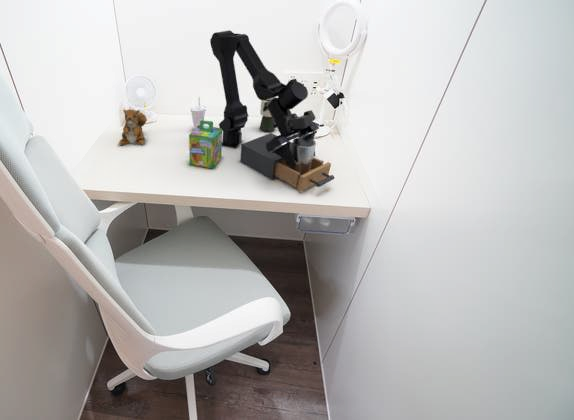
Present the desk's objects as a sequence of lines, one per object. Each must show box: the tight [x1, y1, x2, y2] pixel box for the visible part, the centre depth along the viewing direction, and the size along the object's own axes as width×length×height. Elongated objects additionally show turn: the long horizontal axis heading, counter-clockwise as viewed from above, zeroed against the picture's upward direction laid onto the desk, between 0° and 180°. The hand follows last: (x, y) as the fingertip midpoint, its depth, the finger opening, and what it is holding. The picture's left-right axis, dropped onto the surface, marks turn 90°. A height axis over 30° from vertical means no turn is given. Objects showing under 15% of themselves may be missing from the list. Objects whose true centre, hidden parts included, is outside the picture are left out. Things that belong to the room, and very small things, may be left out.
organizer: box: [239, 132, 293, 180], centre depth 111 cm, size 15×14×7 cm
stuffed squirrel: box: [118, 108, 148, 146], centre depth 129 cm, size 10×14×13 cm
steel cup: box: [289, 137, 317, 179], centre depth 101 cm, size 7×7×11 cm
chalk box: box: [188, 120, 223, 170], centre depth 112 cm, size 9×9×15 cm
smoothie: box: [189, 96, 207, 130], centre depth 134 cm, size 6×6×14 cm
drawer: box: [274, 156, 335, 193], centre depth 102 cm, size 18×13×5 cm
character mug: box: [259, 96, 278, 132], centre depth 132 cm, size 11×7×13 cm, turn 171°
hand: (304, 161), depth 100 cm, fingers open, 9 cm apart
